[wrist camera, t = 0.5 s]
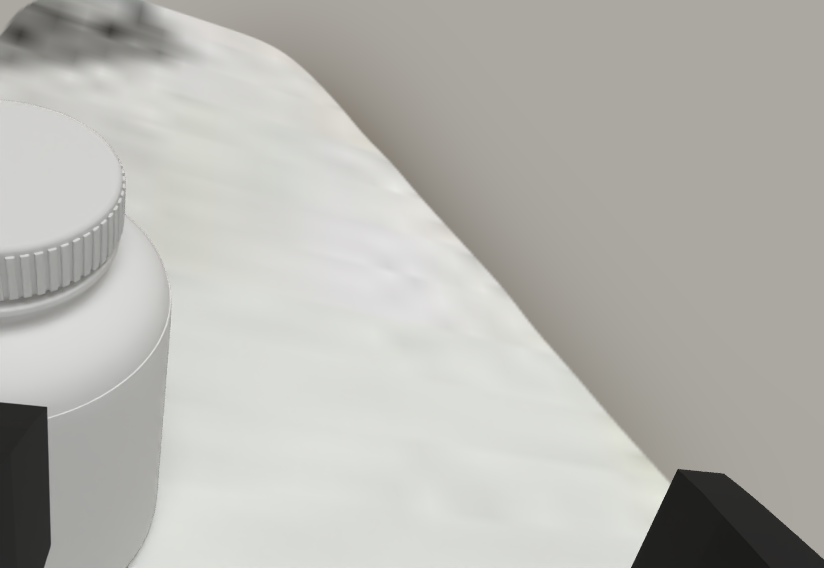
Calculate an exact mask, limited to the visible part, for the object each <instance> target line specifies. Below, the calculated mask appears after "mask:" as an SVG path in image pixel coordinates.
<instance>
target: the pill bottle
mask: <svg viewBox="0 0 824 568" xmlns="http://www.w3.org/2000/svg"><path fill="white" fill-rule="evenodd" d="M125 185H126V181H125V173H124V169H123V166H122V164H121V162H119V158H118V156H117V155H116V154H115V152H114V150H113V149H112V148H111V147H110V145H109V144H108V143H107V142H106V141H105V140H104V139H103V138H102V137H101V136H100V135H99V134H98V133H96V132H95V131H94V130H92V129H91V128H90V127H88V126H86V125H85V124H83V123H81V122H80V121H78V120H76V119H74V118H72V117H70V116H67V115H65V114H62V113H60V112H57V111H54V110H51V109H48V108H44V107H41V106H36V105H32V104H27V103H21V102H14V101H5V100H0V402H4V403H14V404H24V405H34V406H44V407H47V416H48V452H49V488H50V524H51V547H50V550H49V553H48V557H47V560H46V563H45V566H44V568H126V567H127V566H128V565H129V563H130V562H131V561H132V560H133V558H134V557H135V555H136V554H137V552H138V551H139V549H140V547H141V545H142V544H143V542H144V540H145V538H146V535H147V533H148V531H149V528H150V525H151V522H152V518H153V515H154V511H155V507H156V501H157V490H158V478H159V465H160V452H161V439H162V427H163V414H164V401H165V388H166V375H167V363H168V350H169V337H170V324H171V289H170V284H169V279H168V276H167V273H166V271H165V268H164V265H163V263H162V260H161V258H160V256H159V254H158V252H157V250H156V248H155V247H154V245H153V243H152V242H151V240H150V239H149V238H148V236H147V235H146V234H145V233H144V231H143V230H142V229H141V228H140V227H139V226H138V225H137V224H136V223H135V222H134V221H133V220H132V219H131V218H130V217H128V216H127V215H126V214H125Z"/></svg>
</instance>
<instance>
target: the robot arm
mask: <svg viewBox="0 0 824 568" xmlns="http://www.w3.org/2000/svg"><path fill="white" fill-rule="evenodd" d="M50 547H51V524H50V488H49V452H48V416H47V407H44V406H34V405H24V404H14V403H4V402H0V568H44V566H45V563H46V560H47V557H48V553H49V550H50ZM631 568H824V559H823V558H821V557H820V556H819V555H818V554H817V553H816V552H815V551H814V550H812V549H811V548H810V547H809V546H808V545H807V544H806V543H805V542H804V541H802V540H801V539H800V538H799V537H798V536H797V535H796V534H795V533H793V532H792V531H791V530H790V529H789V528H788V527H787V526H786V525H784V524H783V523H782V522H781V521H780V520H779V519H778V518H776V517H775V516H774V515H773V514H772V513H771V512H769V510H767V509H766V508H765V507H764V506H763V505H762V504H760V503H759V502H758V501H757V500H756V499H755V498H753V497H752V496H751V495H750V494H749V493H747V492H746V491H745V490H744V489H743V488H741V487H740V486H739V485H738V484H736V483H735V482H734V481H733V480H731V479H730V478H729V477H727V476H726V475H725V474H721V473H711V472H701V471H691V470H681V469H678V470H677V472H676V474H675V476H674V478H673V480H672V482H671V484H670V487H669V489H668V491H667V493H666V495H665V497H664V499H663V501H662V504H661V506H660V508H659V510H658V512H657V514H656V516H655V518H654V520H653V523H652V525H651V527H650V529H649V531H648V533H647V535H646V537H645V540H644V542H643V544H642V546H641V548H640V550H639V552H638V554H637V556H636V559H635V561H634V563H633V565H632V567H631Z"/></svg>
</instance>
